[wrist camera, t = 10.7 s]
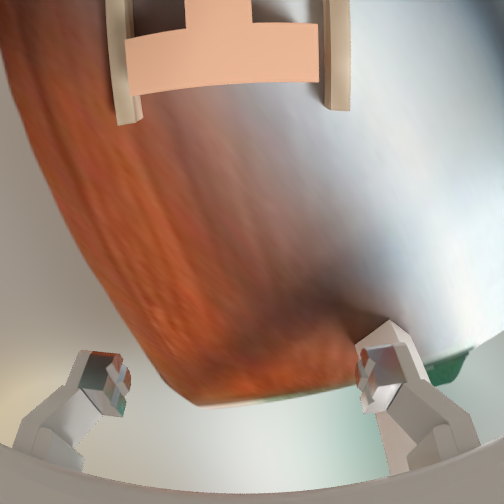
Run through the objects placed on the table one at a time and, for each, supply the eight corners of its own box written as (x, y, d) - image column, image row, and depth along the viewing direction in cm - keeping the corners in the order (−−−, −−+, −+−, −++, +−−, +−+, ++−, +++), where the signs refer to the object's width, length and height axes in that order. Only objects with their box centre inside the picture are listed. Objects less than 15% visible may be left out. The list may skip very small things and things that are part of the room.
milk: (389, 318, 37) (449, 477, 19) (410, 334, 39) (465, 475, 21) (353, 345, 40) (395, 501, 21) (376, 358, 42) (418, 497, 23)
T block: (298, -55, 15) (310, -77, 11) (304, 78, 22) (319, 82, 18) (142, -42, 15) (121, -60, 11) (150, 89, 22) (130, 96, 18)
